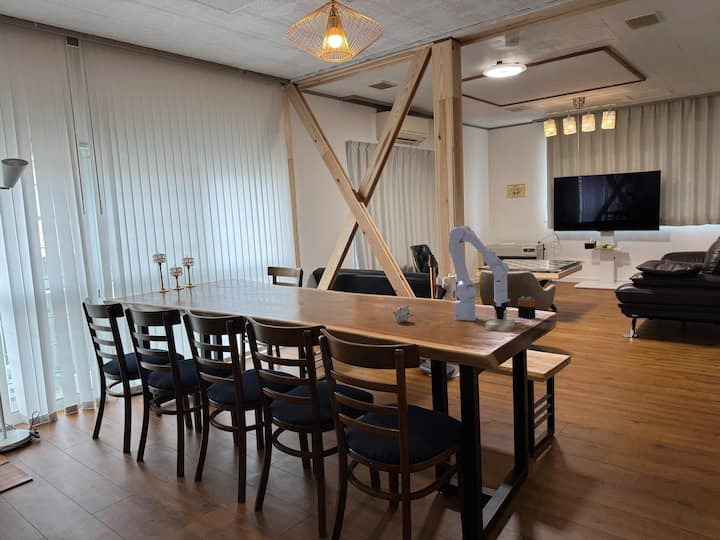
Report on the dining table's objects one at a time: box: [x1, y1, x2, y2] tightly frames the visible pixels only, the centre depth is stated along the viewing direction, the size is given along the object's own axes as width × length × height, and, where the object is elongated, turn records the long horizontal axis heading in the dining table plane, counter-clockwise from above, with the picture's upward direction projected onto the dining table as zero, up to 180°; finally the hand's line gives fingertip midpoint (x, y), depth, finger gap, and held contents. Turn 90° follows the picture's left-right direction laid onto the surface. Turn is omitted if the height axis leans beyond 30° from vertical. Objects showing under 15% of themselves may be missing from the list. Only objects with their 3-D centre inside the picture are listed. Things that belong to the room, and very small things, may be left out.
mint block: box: [494, 310, 508, 320], centre depth 229 cm, size 5×5×5 cm
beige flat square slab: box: [484, 318, 516, 332], centre depth 219 cm, size 11×11×3 cm
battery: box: [517, 295, 536, 320], centre depth 236 cm, size 4×7×10 cm, turn 36°
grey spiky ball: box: [392, 304, 414, 324], centre depth 238 cm, size 9×8×10 cm
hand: (501, 319), depth 229 cm, fingers closed on mint block, 5 cm apart
